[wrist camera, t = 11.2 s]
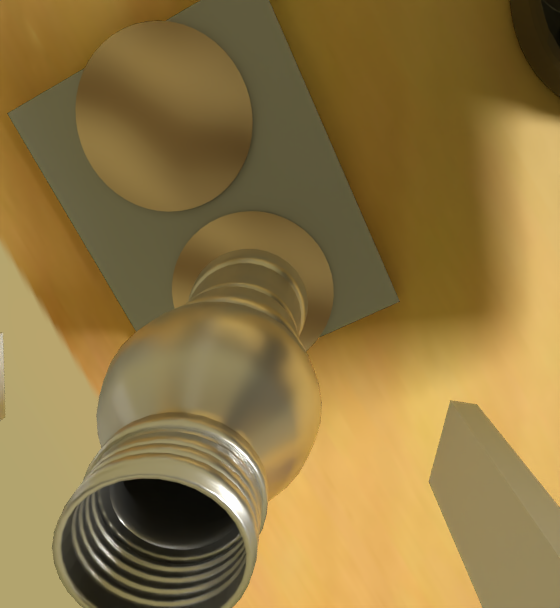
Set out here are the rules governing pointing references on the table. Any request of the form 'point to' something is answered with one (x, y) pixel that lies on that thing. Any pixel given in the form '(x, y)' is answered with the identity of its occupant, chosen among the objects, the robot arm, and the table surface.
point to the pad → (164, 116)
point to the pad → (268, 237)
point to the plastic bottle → (194, 443)
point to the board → (236, 198)
